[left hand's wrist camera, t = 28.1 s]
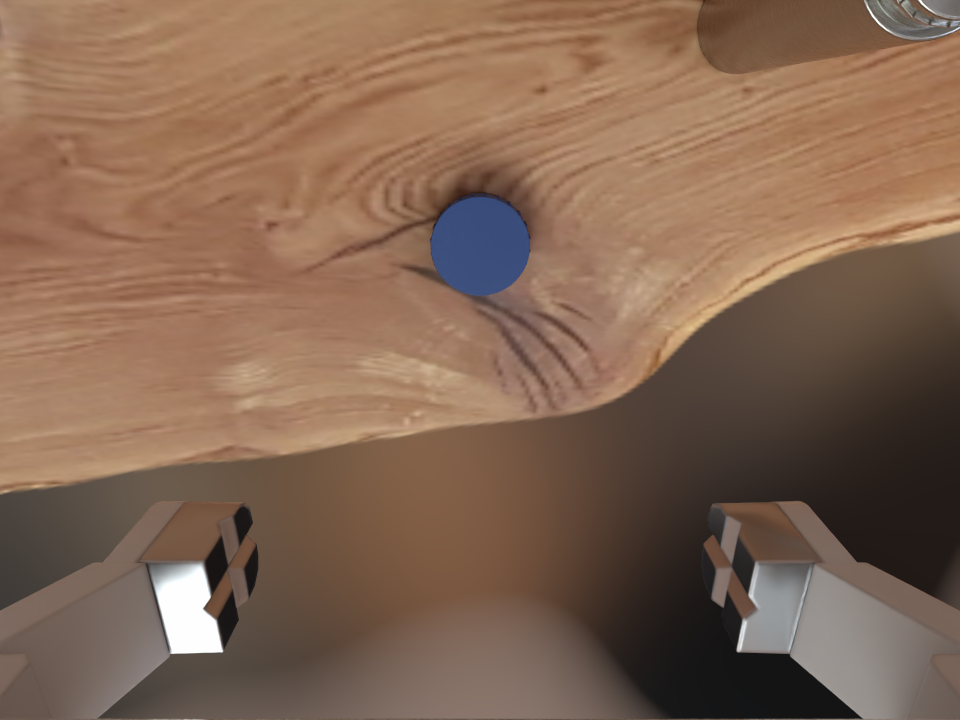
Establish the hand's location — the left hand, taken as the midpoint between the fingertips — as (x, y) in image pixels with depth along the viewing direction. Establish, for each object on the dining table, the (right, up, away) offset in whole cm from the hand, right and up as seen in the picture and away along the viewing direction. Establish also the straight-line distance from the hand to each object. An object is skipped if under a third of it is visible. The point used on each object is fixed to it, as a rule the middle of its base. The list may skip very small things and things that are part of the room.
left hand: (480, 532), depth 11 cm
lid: (0, +10, +24) cm, 26 cm away
